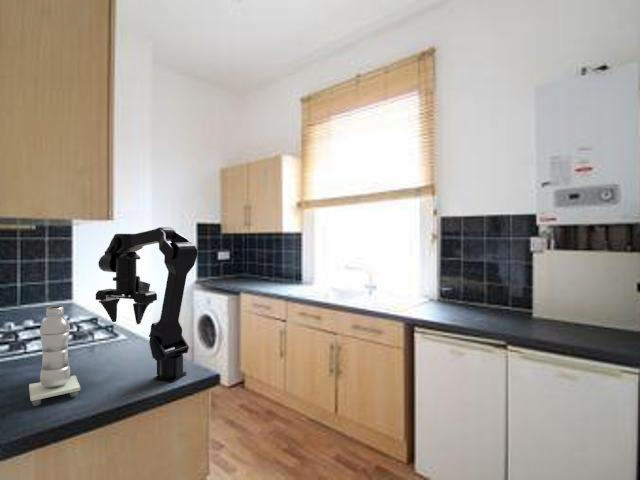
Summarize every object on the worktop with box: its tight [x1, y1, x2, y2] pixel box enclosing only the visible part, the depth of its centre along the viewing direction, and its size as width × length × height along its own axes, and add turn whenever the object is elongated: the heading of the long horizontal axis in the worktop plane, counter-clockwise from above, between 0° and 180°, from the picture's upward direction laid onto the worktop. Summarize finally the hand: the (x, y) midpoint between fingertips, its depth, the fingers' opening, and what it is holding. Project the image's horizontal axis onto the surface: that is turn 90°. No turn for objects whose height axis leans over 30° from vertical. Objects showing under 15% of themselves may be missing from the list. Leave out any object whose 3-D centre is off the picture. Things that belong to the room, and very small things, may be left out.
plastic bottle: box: [39, 305, 72, 388], centre depth 96 cm, size 6×7×20 cm
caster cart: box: [28, 375, 81, 407], centre depth 96 cm, size 10×10×2 cm
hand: (126, 323), depth 119 cm, fingers open, 9 cm apart
